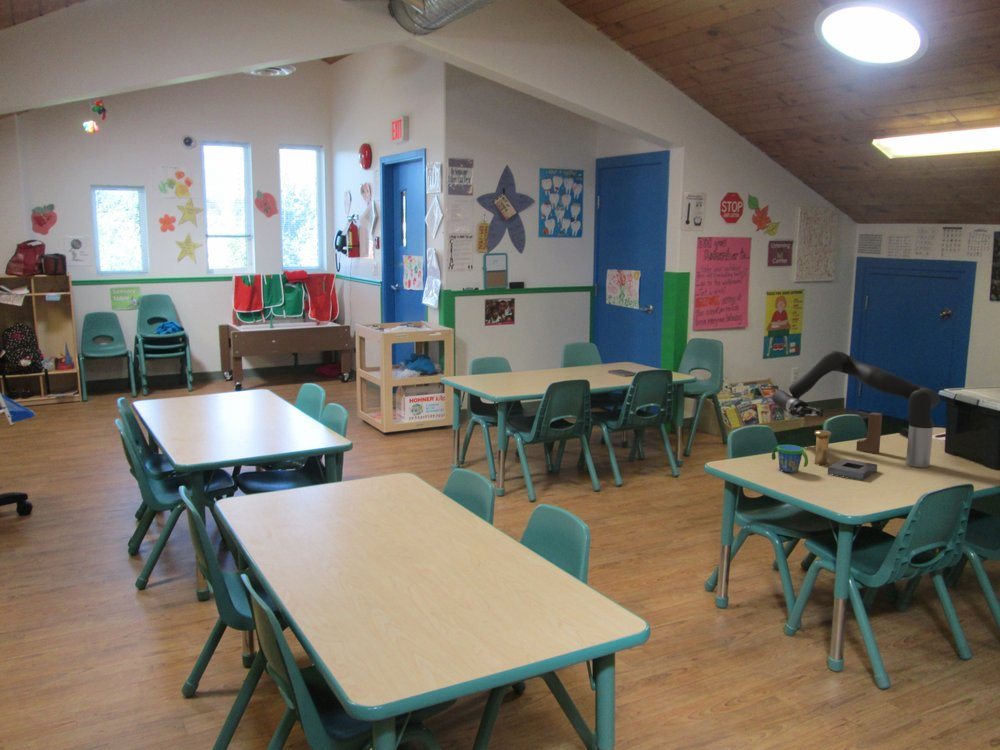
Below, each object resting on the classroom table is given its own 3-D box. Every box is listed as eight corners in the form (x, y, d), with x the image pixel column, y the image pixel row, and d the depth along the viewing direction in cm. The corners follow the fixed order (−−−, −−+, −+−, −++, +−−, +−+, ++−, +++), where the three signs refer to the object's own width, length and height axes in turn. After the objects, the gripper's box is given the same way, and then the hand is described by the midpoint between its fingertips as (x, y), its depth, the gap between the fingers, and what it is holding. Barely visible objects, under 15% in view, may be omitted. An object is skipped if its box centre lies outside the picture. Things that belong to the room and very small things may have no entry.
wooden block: (855, 450, 389) (858, 412, 386) (859, 448, 392) (862, 410, 389) (876, 453, 383) (879, 415, 380) (879, 452, 386) (882, 413, 383)
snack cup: (812, 473, 351) (814, 449, 350) (796, 477, 345) (798, 453, 344) (781, 464, 364) (782, 442, 362) (765, 468, 358) (766, 445, 356)
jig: (842, 465, 364) (843, 458, 363) (876, 471, 355) (877, 464, 354) (827, 474, 350) (828, 467, 350) (862, 480, 341) (863, 473, 341)
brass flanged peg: (816, 461, 370) (818, 429, 368) (831, 463, 366) (833, 431, 364) (810, 464, 365) (812, 432, 363) (825, 466, 361) (827, 434, 359)
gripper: (782, 399, 388) (797, 406, 372) (812, 399, 389) (828, 406, 373) (781, 415, 390) (796, 423, 374) (811, 415, 391) (827, 423, 375)
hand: (812, 415), depth 374 cm, fingers open, 8 cm apart
